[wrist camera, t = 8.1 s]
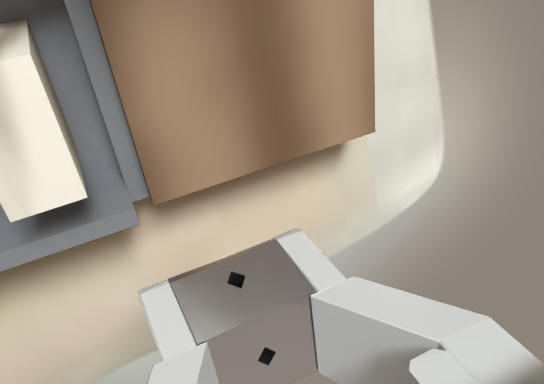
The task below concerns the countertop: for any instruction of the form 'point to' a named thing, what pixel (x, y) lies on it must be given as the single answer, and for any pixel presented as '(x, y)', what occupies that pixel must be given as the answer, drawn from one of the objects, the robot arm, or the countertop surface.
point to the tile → (32, 132)
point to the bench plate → (237, 83)
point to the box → (77, 135)
